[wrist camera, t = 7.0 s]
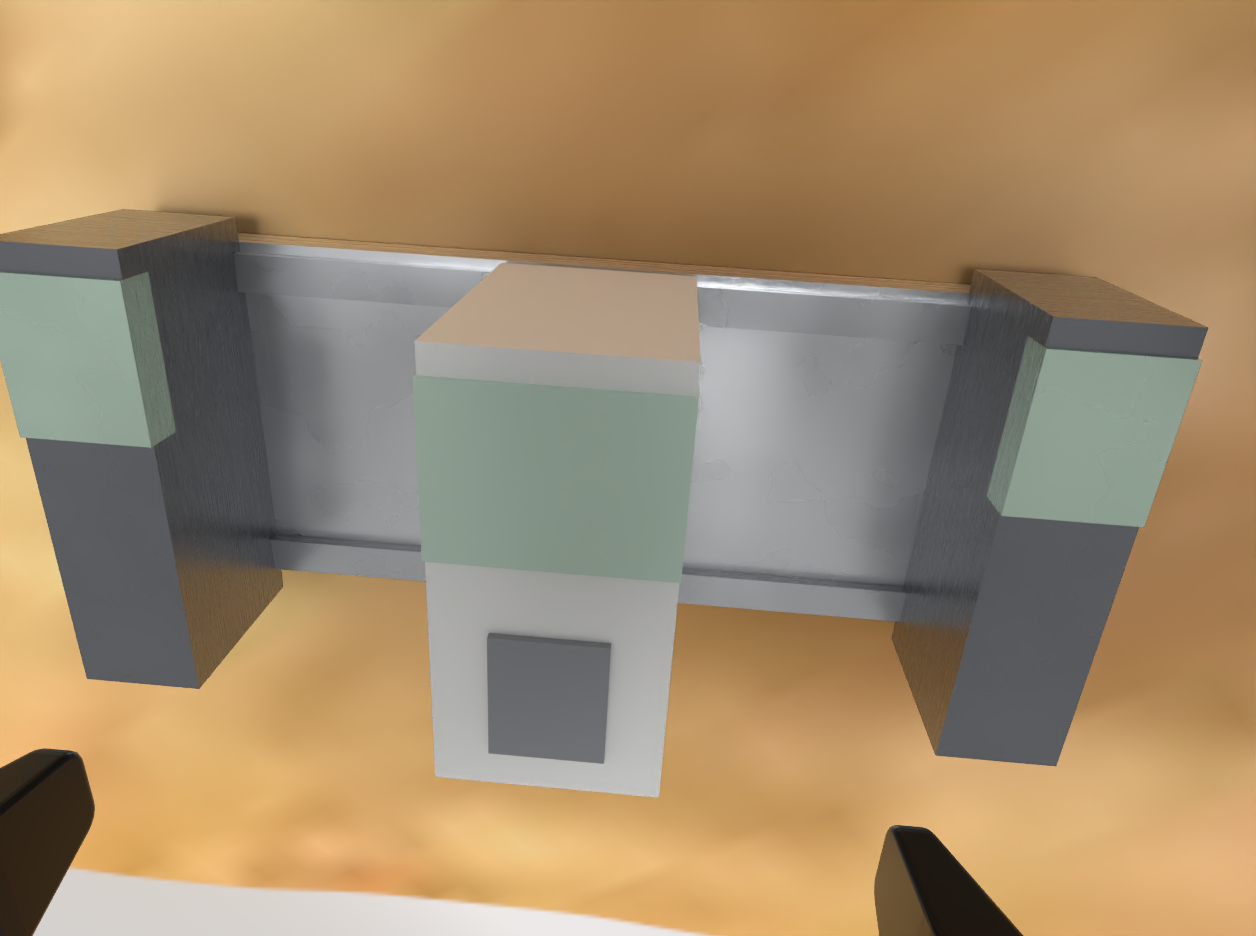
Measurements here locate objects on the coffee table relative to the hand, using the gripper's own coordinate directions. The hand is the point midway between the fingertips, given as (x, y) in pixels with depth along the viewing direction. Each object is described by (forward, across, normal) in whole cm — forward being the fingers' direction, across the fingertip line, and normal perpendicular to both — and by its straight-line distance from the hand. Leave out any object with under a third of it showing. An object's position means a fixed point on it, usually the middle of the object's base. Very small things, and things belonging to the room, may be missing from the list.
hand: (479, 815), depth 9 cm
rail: (+12, 0, 0) cm, 12 cm away
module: (+10, 0, 0) cm, 10 cm away
